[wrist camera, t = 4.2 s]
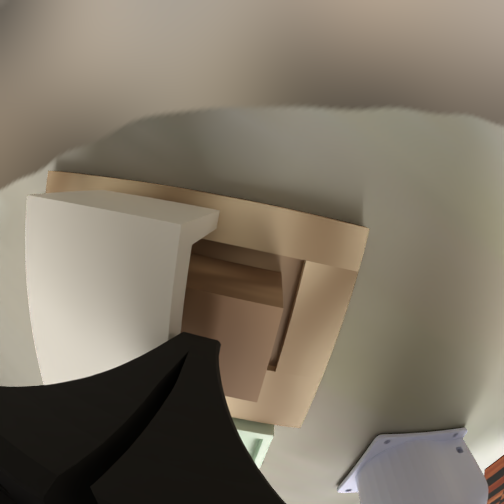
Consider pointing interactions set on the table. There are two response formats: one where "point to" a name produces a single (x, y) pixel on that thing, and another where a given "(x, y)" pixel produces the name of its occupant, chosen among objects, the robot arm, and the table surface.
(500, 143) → the table surface
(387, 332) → the table surface
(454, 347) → the table surface
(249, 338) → the block
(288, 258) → the puzzle board
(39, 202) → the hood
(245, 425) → the tray
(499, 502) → the chessboard
